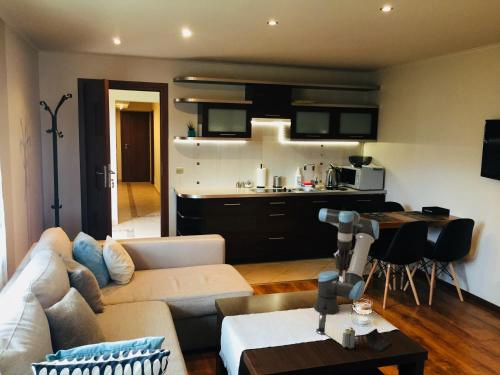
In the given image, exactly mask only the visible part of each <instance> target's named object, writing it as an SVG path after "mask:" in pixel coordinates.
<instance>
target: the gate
mask: <svg viewBox="0 0 500 375" xmlns="http://www.w3.org/2000/svg"><path fill="white" fill-rule="evenodd" d="M325 334H326V335H327V336H329V337H330V338H331V339H332V340H334V341H336V342H337V343H339V344H340V345H341V346H342V347H343V348H348V347H347V346H349V336H350V334H349V333H347V332H345V330H343V329H341V328H340V327H338V326H336V324H334V323H332V322H331V321H326V322H325Z"/></svg>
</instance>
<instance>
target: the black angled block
mask: <svg viewBox="0 0 500 375" xmlns="http://www.w3.org/2000/svg"><path fill="white" fill-rule="evenodd" d="M364 337H365V338H366V340H367V342H368V345H369V348H371V349H373V350H376V351H378V352H379V353H380V352H382V351H384V350H386V349H387V348H388V347H389V346H391V344H392V343H391V342H390V341H387V340H384V338H382V337H381V334H380V332H379V330H378V329H377V328H375V329H373V330H371V331H370V332H368V333H366V334H365V335H364Z"/></svg>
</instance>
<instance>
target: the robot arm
mask: <svg viewBox="0 0 500 375" xmlns="http://www.w3.org/2000/svg"><path fill="white" fill-rule="evenodd" d="M360 216H361V215H360V214H359V213H358V212H357V211H355V210H352V211H348V210H336V209H331V208H330V209H329V208H321V209H320V210H319V213H318V220H319V221H320V222H323V223H329V224H331V225H333V226H336V227H337V228H338V229H337V230H338V231H337V242H336V243H337V245H336V246H337V251H336V252H333V257H334V261H335V269H336V270H338V271H334V270H326V271H322V272H320V273H319V275H318V279H317V280H318V282H317V285H318V286H317V296H316V299H315V301H314V304H313V309H314V311H316V312H318V313H319V314H321V313H324V314H326V315H335V314H338V313H339V311H340V305H339V299H338V297H340V298H341V297H342V298H345V299H349V300H353V301H354V300H355V301H359V300H360V299H361V298H362V296H363V294H364V292H365V289H366V283H365V281H364V280H365V279H364V278H363V273H364V269H365V266H366V263H367V259H368V255H369V252H370V248H371V245H372V244H373V243H374V242H375V240H378V239H379V236H380V235H379V234H380V225H379V222H378V221H377V220H374V219H367V218H362V217H360ZM353 236H354V237H355V239H356V241H355V245H354V249H353V250H352V249H351V248H352V246H353V245H352V243H353V242H352V240H353Z"/></svg>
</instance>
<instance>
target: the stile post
mask: <svg viewBox="0 0 500 375" xmlns="http://www.w3.org/2000/svg"><path fill="white" fill-rule="evenodd" d="M344 331H345V332H347V333H349V334H350V336H349V346H347V347H346V348H348V349H354V348H355V340H356V330H354V328H353V327H351V326H350V327H349V328H348V329H347V328H346V329H344Z"/></svg>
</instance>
